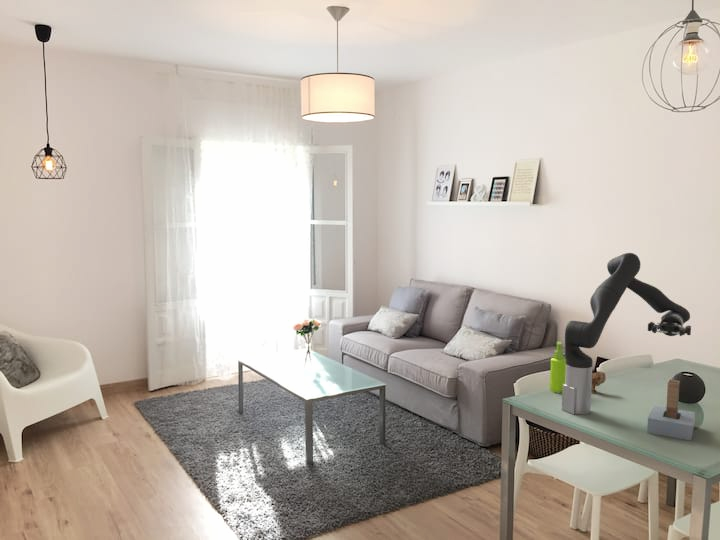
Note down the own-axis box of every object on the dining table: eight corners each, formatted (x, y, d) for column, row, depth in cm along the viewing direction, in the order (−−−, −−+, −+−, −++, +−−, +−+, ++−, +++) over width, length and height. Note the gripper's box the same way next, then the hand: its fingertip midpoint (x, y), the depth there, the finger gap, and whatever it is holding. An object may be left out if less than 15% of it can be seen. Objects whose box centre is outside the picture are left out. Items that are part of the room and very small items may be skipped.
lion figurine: (607, 392, 245) (608, 370, 244) (602, 395, 241) (603, 373, 240) (571, 385, 255) (572, 364, 254) (566, 388, 251) (567, 366, 250)
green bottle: (564, 388, 250) (566, 341, 247) (564, 393, 243) (566, 344, 241) (550, 387, 251) (551, 340, 249) (549, 392, 245) (551, 343, 243)
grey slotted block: (691, 440, 195) (692, 425, 195) (647, 432, 202) (648, 418, 201) (694, 426, 208) (695, 412, 207) (652, 419, 215) (653, 405, 214)
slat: (675, 431, 202) (678, 384, 200) (665, 429, 204) (667, 383, 202) (676, 426, 206) (679, 380, 204) (667, 424, 208) (669, 379, 206)
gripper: (651, 313, 236) (646, 319, 222) (693, 316, 229) (690, 323, 215) (650, 331, 237) (645, 339, 223) (692, 336, 229) (689, 344, 216)
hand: (667, 331), depth 219 cm, fingers open, 8 cm apart
